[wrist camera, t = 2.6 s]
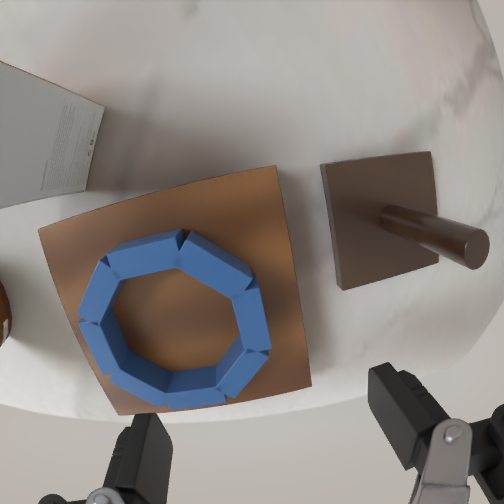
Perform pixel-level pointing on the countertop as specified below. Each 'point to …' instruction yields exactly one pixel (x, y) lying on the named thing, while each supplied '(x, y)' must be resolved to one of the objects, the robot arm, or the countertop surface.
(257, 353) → the ring
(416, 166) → the ring stand
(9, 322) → the food container
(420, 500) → the robot arm
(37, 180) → the small box
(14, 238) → the countertop surface
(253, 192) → the platform
